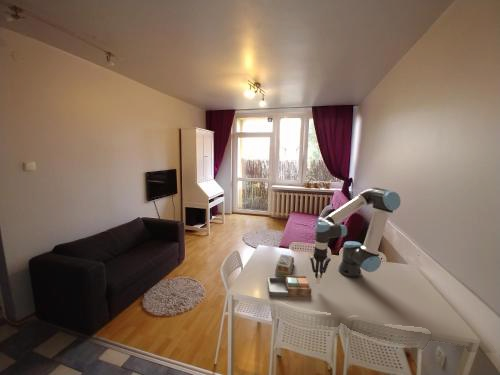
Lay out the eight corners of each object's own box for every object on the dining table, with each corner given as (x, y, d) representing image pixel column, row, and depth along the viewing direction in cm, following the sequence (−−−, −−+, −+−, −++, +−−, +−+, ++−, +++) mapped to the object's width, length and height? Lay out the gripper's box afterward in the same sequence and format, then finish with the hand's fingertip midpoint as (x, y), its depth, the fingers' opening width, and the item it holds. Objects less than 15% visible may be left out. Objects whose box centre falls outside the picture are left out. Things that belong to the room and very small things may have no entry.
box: (284, 281, 151) (284, 277, 150) (288, 296, 135) (288, 292, 134) (267, 280, 151) (267, 276, 150) (269, 296, 135) (269, 291, 134)
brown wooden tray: (305, 282, 150) (305, 276, 149) (310, 296, 136) (311, 288, 135) (284, 282, 150) (284, 275, 149) (287, 295, 136) (288, 288, 135)
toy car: (294, 264, 174) (295, 251, 173) (289, 281, 151) (290, 267, 150) (280, 261, 178) (281, 249, 176) (274, 278, 154) (274, 264, 153)
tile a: (306, 280, 145) (306, 278, 145) (308, 286, 139) (308, 283, 139) (296, 280, 145) (296, 277, 145) (298, 286, 139) (298, 283, 139)
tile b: (295, 280, 145) (296, 277, 145) (297, 286, 139) (298, 283, 139) (286, 280, 145) (286, 277, 145) (288, 285, 139) (288, 282, 139)
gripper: (329, 244, 142) (326, 279, 146) (308, 244, 142) (306, 278, 146) (333, 250, 134) (330, 286, 138) (312, 249, 134) (309, 285, 138)
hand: (317, 282), depth 142 cm, fingers closed
